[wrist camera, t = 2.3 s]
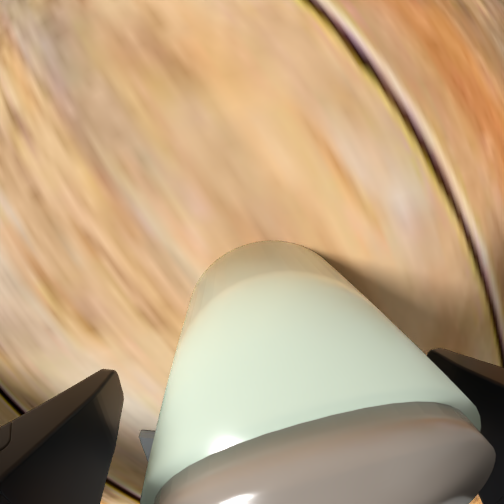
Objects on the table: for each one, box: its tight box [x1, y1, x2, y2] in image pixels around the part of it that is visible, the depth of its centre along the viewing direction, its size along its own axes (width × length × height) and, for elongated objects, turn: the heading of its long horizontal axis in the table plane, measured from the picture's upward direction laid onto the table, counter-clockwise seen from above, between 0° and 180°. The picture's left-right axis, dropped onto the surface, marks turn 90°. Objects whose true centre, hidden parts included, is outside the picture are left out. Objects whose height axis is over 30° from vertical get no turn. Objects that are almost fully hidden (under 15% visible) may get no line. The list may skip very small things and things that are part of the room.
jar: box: [140, 241, 496, 504], centre depth 7 cm, size 6×6×9 cm
